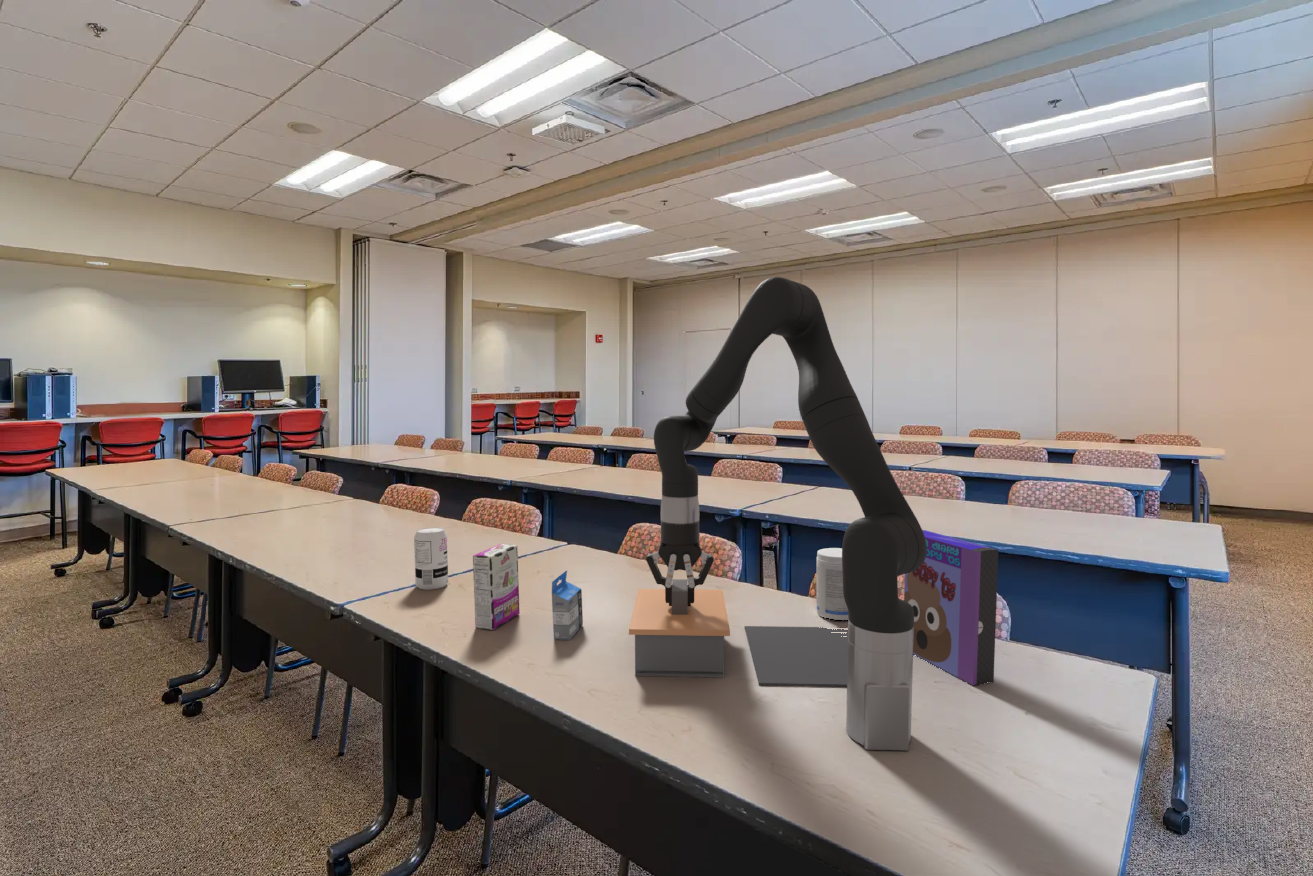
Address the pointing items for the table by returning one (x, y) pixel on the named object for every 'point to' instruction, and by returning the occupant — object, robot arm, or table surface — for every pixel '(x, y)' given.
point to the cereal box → (955, 607)
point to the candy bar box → (496, 586)
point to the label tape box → (566, 608)
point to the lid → (679, 612)
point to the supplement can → (431, 558)
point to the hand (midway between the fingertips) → (680, 604)
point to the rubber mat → (799, 655)
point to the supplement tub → (830, 584)
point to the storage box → (679, 655)
